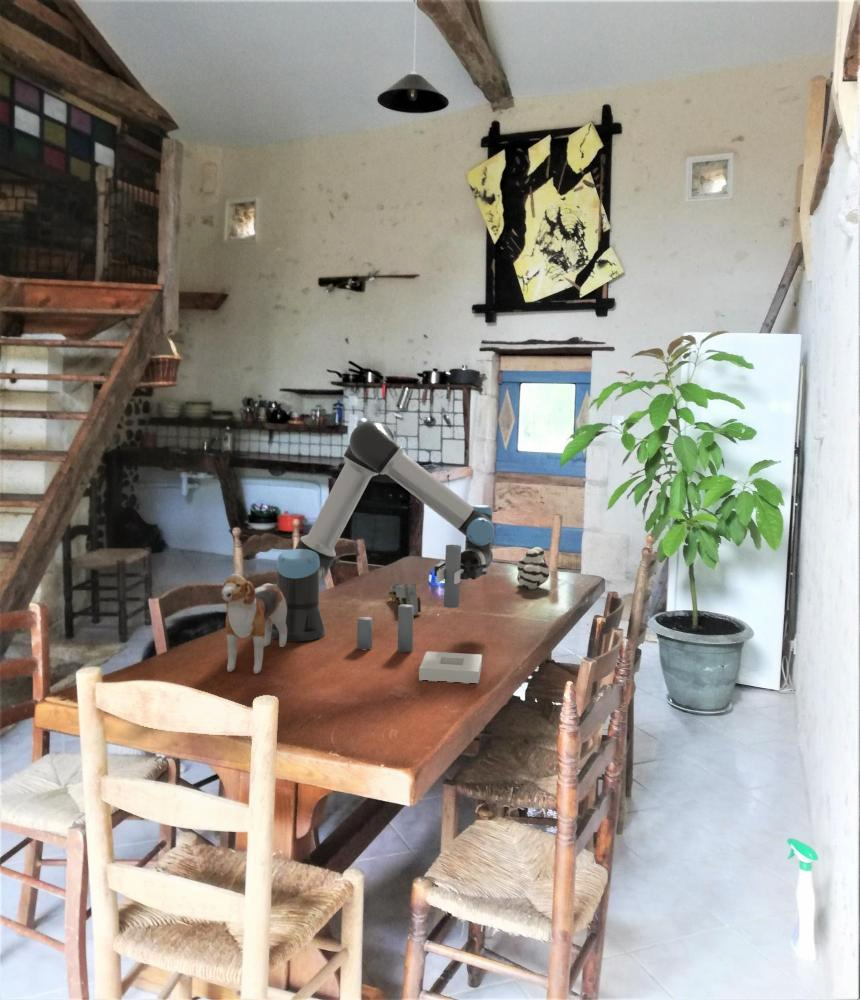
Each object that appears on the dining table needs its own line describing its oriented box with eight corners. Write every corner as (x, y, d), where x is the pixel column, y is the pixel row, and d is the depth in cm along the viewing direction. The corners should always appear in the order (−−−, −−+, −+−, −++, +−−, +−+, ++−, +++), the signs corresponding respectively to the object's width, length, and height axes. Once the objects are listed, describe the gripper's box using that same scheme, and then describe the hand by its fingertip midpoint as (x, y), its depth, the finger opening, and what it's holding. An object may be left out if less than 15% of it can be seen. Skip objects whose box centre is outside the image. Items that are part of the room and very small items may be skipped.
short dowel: (355, 649, 214) (356, 620, 213) (358, 645, 218) (359, 616, 217) (370, 650, 214) (370, 620, 213) (373, 646, 218) (373, 617, 217)
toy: (404, 615, 251) (403, 583, 252) (388, 613, 274) (387, 583, 275) (421, 615, 253) (420, 583, 254) (404, 612, 275) (403, 583, 276)
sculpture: (519, 582, 312) (520, 543, 310) (551, 584, 309) (553, 545, 307) (511, 593, 290) (513, 552, 289) (546, 596, 287) (548, 554, 286)
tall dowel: (442, 607, 210) (445, 546, 209) (444, 603, 214) (446, 544, 213) (458, 608, 210) (460, 547, 208) (459, 604, 214) (461, 545, 212)
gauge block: (419, 680, 190) (419, 667, 190) (426, 662, 204) (426, 651, 204) (478, 684, 188) (478, 671, 188) (481, 666, 202) (482, 654, 202)
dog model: (204, 687, 182) (204, 577, 179) (265, 639, 222) (266, 549, 219) (244, 690, 180) (245, 579, 178) (299, 641, 221) (300, 551, 218)
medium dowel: (396, 652, 213) (397, 607, 212) (398, 647, 217) (399, 604, 216) (411, 653, 212) (412, 608, 211) (413, 648, 216) (414, 604, 215)
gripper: (498, 579, 226) (478, 595, 204) (439, 573, 231) (414, 589, 209) (499, 552, 225) (479, 566, 203) (440, 547, 230) (415, 560, 208)
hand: (446, 577), depth 206 cm, fingers closed on tall dowel, 4 cm apart
